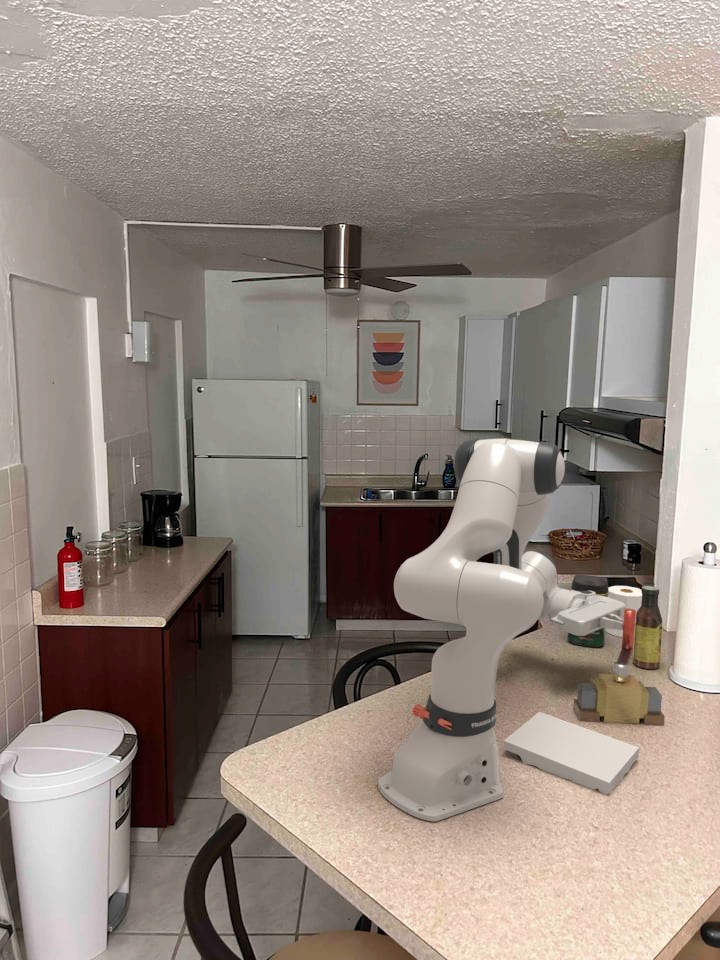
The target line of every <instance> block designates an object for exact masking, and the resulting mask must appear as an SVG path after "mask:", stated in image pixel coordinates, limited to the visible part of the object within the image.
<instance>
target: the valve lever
mask: <svg viewBox="0 0 720 960" xmlns="http://www.w3.org/2000/svg"><path fill="white" fill-rule="evenodd" d="M635 617H636V610H634V609H624V621H623V635H622V637H621V648H620V649H621V650H620V653H619V654H618V658H617V661H614V662H613V665H612V674H613V679H614V680H616V681H619V682H626V681H628V675H629V669H630V668H629V667H630V666H629V664H630V661H631V658H632V656H634V630H635Z"/></svg>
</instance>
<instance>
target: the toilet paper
mask: <svg viewBox="0 0 720 960" xmlns="http://www.w3.org/2000/svg"><path fill="white" fill-rule="evenodd" d="M608 590H609V594H608V598H611V599H615V600H618V601H620V602H623V603H624V604H625V605H626V609H634V610H636V613H637V611H638V609H639V608H640V607H641V605H642V604H641V602H642V592H641V591H642V588H641V589H640V588H639V587H634V586H633V587H632V586H628V585H612V586H608ZM635 623H636V617H635ZM605 633H608V634H610V635H612V636H615V637H620V638H622V635H623V630H617V629H609V628H605ZM634 636H635V630H634Z"/></svg>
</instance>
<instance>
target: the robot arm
mask: <svg viewBox="0 0 720 960" xmlns="http://www.w3.org/2000/svg"><path fill="white" fill-rule="evenodd" d="M565 465H566V464H565V460H564V457H563V453H562V450H561V449H560V448H559V447H558V446H557V445H556V444H554V443H552V442H551V443H550V442H546V441H540V442H537V441H531V440H523V439H510V438H488V439H487V438H486V439H480V438H473V439H468V440H465V441H463V442H462V443H461V444H459V446H458V447H457V449H456V451H455V454H454V460H453V469H454V470H453V471H454V477H455V479H456V481H457V482H458V483H459V489H458V492H457V496H456V498H455V499H456V500H455V502H454V506H453V508H452V512H451V515H450V519H449V520H448V523H447V525H446V527H445V528H444V530H443V531H442V533H441V534H440V536H439V537H438V538H437V539H435V541H434V542H433V543H432V544H430V545H429V546H428V547H427V548H425V549H424V550H422V551H421V552H419V553H418V554H415V555H414V556H411V557H409V558H407V559H406V560H405V561H404V562H403V563H401V564H400V567H399V568H398V570H397V571H396V574H395V577H394V580H393V592H394V598H395V599H396V602H397V604H398V606H399V607H400V609H402V611H405V612H407V613H409V614H411V615H415V616H417V617H420V618H423V619H426V620H431V621H437V622H442V623H443V622H444V623H450V624H458V625H461V626H464V627H465V629H466V632H465V636H462V637H459V638H457V639H453V640H451V641H448V642H446V643H443V645H441V646H439V648H437V650H436V651H435V653H434V654H433V656H432V659H431V673H430V674H431V677H430V678H431V680H430V682H431V683H430V694H429V695H428V699H427V701H426V704H425V706H422V705H421V704H419V703H417V704H415V705H414V706H413V708H412V715H413V716H414V717H416V718H417V717H418V718H419V719H420V720H421V721H420V723H419V724H418V726H416V728H415V729H414V730H413V731H412V732H411V734H410V735H409V736H408V737H407V738H406V740H405V741H404V742H403V743H402V744H401V745H400V747H398V749H397V751H395V754H394V756H393V757H394V758H393V761H392V762H393V763H392V769H391V770H389V771H388V772H387V773H385V774H384V775H382V776H381V777H380V778H379V779H377V780H378V782H377V788H378V790H379V792H380V794H381V795H382V796H383V797H384V798H385V799H386V800H388V802H389V803H391V804H392V805H394V806H395V807H397V808H398V809H400V810H402V811H403V812H405V813H407V814H409V815H411V816H413V817H415V818H418V819H421V820H425V821H428V822H438V821H441V820H444V819H447V818H450V817H452V816H456V815H458V814H462V813H465V812H467V811H469V810H472V809H476V808H478V807H481V806H483V805H487V804H490V803H492V802H495V801H498V800H500V799H503V798H504V788H503V785H502V784H501V773H500V765H499V762H500V761H499V750H498V749H499V748H498V743H497V739H496V733H495V725H496V723H497V715H498V710H497V700H496V699H495V691H496V680H497V672H498V667H499V662H500V659H501V656H502V654H503V652H504V651H505V649H506V647H507V646H508V644H510V642H511V641H513V639H515V638H516V637H517V636H519V635H520V634H522V633H525V632H526V631H528V630H529V629H531V628H532V627H533V626H534V625H535V624H536V622H537V621H538V620H540V621H541V620H542V621H548V622H549V623H551V624H552V625H555V626H557V629H559V630H562V631H563V632H565V633H567V634H568V633H571V634H573V635H576V636H585V635H587V634H589V633H592V632H594V631H596V630H599V629H601V628H609V629H617V630H623V621H624V609H626V605H625V604H624V603H623V602H620V601H618V600H615V599H611V598H608V597H605V596H600V595H596V593H595V592H593V591H573V590H571V589H570V590H569V589H566V588H561V587H559V585H558V584H559V576H558V571H557V566H556V563H555V561H554V559H553V558H552V557H551V556H549V555H547V554H546V553H543V552H541V551H539V550H528V551H525V549H526V547H527V545H528V543H529V542H530V539H531V538H532V537H533V535H534V534H535V533H536V531H537V530H538V528H539V526H541V524H542V523H543V521H544V520H545V518H546V516H547V514H548V509H549V506H550V505H549V504H550V494H553V493H554V492H556V491H557V490H558V489H559V488H560V487H561V483H562V481H563V480H564V476H565V471H566V470H565V469H566V466H565ZM524 551H525V552H524ZM491 553H493V563H490V562H489V563H488V562H481V561H478V560H479V559H480V558H482V557H483V556H485V555H488V554H491Z"/></svg>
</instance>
